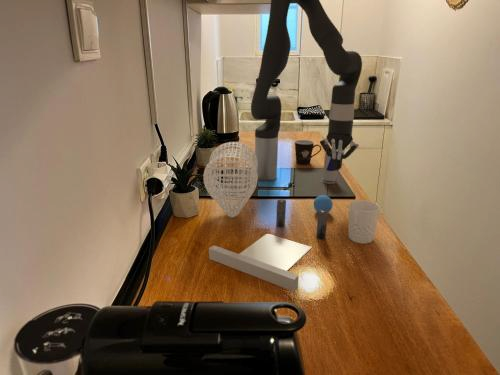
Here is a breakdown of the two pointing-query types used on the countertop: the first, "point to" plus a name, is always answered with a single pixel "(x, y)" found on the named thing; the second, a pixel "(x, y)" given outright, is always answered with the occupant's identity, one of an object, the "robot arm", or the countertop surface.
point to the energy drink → (329, 171)
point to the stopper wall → (254, 267)
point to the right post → (321, 224)
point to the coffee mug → (304, 151)
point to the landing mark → (276, 251)
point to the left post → (281, 213)
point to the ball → (323, 203)
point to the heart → (212, 178)
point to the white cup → (362, 221)
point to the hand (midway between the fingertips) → (336, 169)
